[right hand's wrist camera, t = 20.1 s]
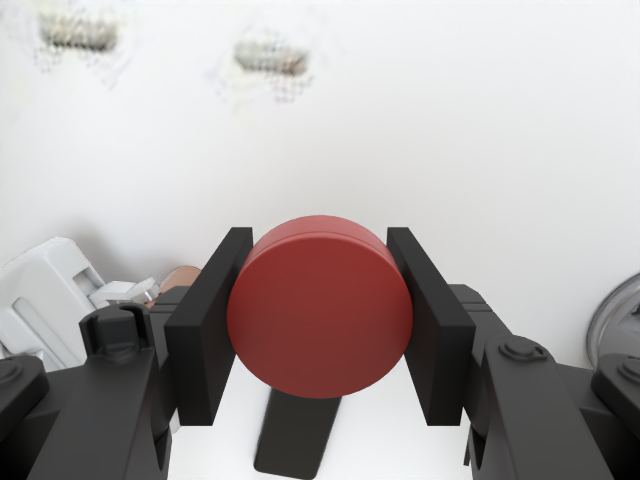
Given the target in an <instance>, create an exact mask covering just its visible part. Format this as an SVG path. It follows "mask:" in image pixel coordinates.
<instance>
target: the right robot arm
mask: <svg viewBox="0 0 640 480" xmlns="http://www.w3.org/2000/svg"><path fill="white" fill-rule="evenodd" d="M386 247H387V248H388V250H389V251H390V253H391V255H392V257H393V258H394V260H395V263H396V265H397V267H398V269H399V271H400V273H401V275H402V277H403V280H404V282H405V284H406V286H407V289H408V291H409V293H410V296H411V301H412V305H413V325H412V333H411V338H410V340H409V343H408V346H407V348H406V350H405V352H404V356H405V359H406V362H407V365H408V368H409V371H410V374H411V378H412V381H413V384H414V387H415V390H416V393H417V396H418V399H419V402H420V405H421V408H422V411H423V414H424V417H425V420H426V423H427V426H460V422H461V416H462V410H463V407H464V409H465V411H466V413H467V415H468V418H469V420H470V422H471V424H470V430H469V435H468V441H467V446H466V452H465V458H464V465H466V466H469V462H470V460H471V467H472V475H473V480H640V274H639V275H638V276H636V277H634V278H632V279H631V280H629V281H627V282H626V283H624V284H623V285H622V286H621V287H619V288H618V289H617V290H616V291H615V292H613V293H612V294H611V295H610V296H609V297H608V298H607V299H606V301H605V302H604V303H603V304H602V306H601V307H600V308H599V310H598V311H597V313H596V315H595V317H594V319H593V321H592V323H591V326H590V329H589V332H588V338H587V350H588V355H589V359H590V361H591V363H592V365H593V367H594V368H595V369H594V371H592V370H587V369H582V368H577V367H572V366H567V365H562V364H558V363H556V362H555V360H554V358H553V356H552V355H551V354H550V353H549V352H548V350H547V349H545V348H544V347H543V346H541V345H540V344H538V343H537V342H534V341H532V340H529V339H527V338H525V337H521V336H516V335H513V334H512V333H511V332H510V331H509V329H508V328H507V327H506V326H505V325H504V323H503V322H502V321H501V320H500V318H499V317H498V316H497V315H496V314H495V312H493V310H492V309H491V308H490V306H489V305H488V304H486V302H485V300H484V299H483V298H482V297H481V295H480V294H479V293H478V292H476V291H475V290H473V289H471V288H470V287H468V286H466V285H465V284H447V283H446V281H445V280H444V278H443V277H442V276H441V274H440V273H439V271H438V270H437V268H436V267H435V266H434V264H433V263H432V261H431V260H430V258H429V257H428V255H427V254H426V253H425V251H424V250H423V248H422V247H421V245H420V244H419V243H418V241H417V240H416V238H415V237H414V235H413V234H412V232H411V231H410V230H409V228H408V227H388V229H387V245H386ZM252 248H253V233H252V227H232V228H231V229H230V231H229V232H228V234H227V235H226V236H225V238H224V239H223V241H222V242H221V244H220V245H219V246H218V248H217V249H216V251H215V252H214V254H213V255H212V257H211V258H210V259H209V261H208V262H207V264H206V265H205V267H204V268H203V269H202V271H201V272H200V274H199V275H198V277H197V278H196V280H195V281H194V282H193V284H192V285H191V286H174V287H172V288H171V289H169V290H167V291H166V292H164V293H162V294H161V296H160V297H159V298H158V299H157V300H156V302H155V303H154V305H152V306H151V308H150V309H149V308H147V307H146V306H145V305H143V304H139V303H134V302H133V303H118V304H113V305H108V306H106V307H103V308H100V309H97V310H95V311H93V312H92V313H90V314H88V315H86V316H85V317H84V318H83V319H82V320H81V321H80V322H79V323H78V324H79V328H80V332H81V335H82V339H83V343H84V347H85V351H86V355H87V359H86V361H85V363H84V365H81V366H77V367H72V368H67V369H62V370H57V371H52V372H46V371H45V367H44V364H43V361H42V360H41V359H40V358H38V357H37V356H31V355H20V356H11V357H6V358H5V359H3V358H2V359H0V480H167V476H168V468H169V460H170V453H171V445H172V436H171V430H170V424H169V423H170V421H171V419H172V417H173V415H174V413H175V410H176V408H177V411H178V417H179V423H180V426H212V425H213V422H214V419H215V416H216V413H217V410H218V407H219V404H220V401H221V398H222V395H223V392H224V389H225V386H226V383H227V380H228V377H229V374H230V371H231V368H232V365H233V362H234V359H235V356H236V352H235V350H234V348H233V346H232V344H231V341H230V338H229V334H228V328H227V316H226V311H227V304H228V299H229V296H230V293H231V290H232V288H233V286H234V284H235V281H236V279H237V277H238V275H239V273H240V271H241V269H242V266H243V264H244V262H245V260H246V258H247V256H248V254H249V252H250V251H251V250H252Z"/></svg>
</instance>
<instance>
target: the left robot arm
mask: <svg viewBox="0 0 640 480" xmlns="http://www.w3.org/2000/svg"><path fill="white" fill-rule="evenodd" d="M161 292H162V290H161V289H160V287H159V286H158V284H157V283H156V282H155V280H154V279H153V277H151V278H149V279H146V280H144V281H142V282H140V283H138V284H136V283H132V282H123V281H112V282H110V283H108V284H105V282H104V281H103V280H102V278H101V277H100V276H99V274H98V273H97V272H96V270H95V269H94V268H93V266H92V265H91V264H90V262H89V261H88V260H87V258H86V257H85V256H84V254H83V253H82V252H81V250H80V249H79V248H78V246H77V245H76V243H75V242H74V241H73V240H71V239H68V238H63V237H53V238H51V239H49V240H47V241H45V242H43V243H41V244H39V245H37V246H35V247H33V248H32V249H30V250H28V251H26V252H24V253H22V254H21V255H19V256H17V257H16V258H14V259H13V260H11V261H10V262H8V263H7V264H5V265H4V266H2V267H1V268H0V359H2V358H3V359H5V358H6V357H11V356H20V355H31V356H37V357H38V358H40V359H41V360H42V361H43V364H44V367H45V371H46V372H52V371H57V370H62V369H67V368H72V367H77V366H81V365H84V363H85V361H86V359H87V355H86V351H85V347H84V343H83V339H82V335H81V332H80V328H79V324H78V323H79V322H80V321H81V320H82V319H83V318H84V317H85V316H86V315H88V314H90V313H92V312H93V311H95V310H97V309H100V308H103V307H106V306H108V305H113V304H118V303H120V302H119V301H118V300H132V302H134V303H139V304H143V305H144V304H145V303H146V302H147V303H149V302H151V301H153V300H155V299H156V298H157V297H158V296H159V294H160V293H161ZM169 424H170V430H171V435H172V434H174V433H176V432H177V431H178V430H179V429H180V427H181V426H180V423H179V417H178V411H177V408H176V410H175V413H174V415H173V417H172V419H171V421H170V423H169Z"/></svg>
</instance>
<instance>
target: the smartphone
mask: <svg viewBox="0 0 640 480" xmlns="http://www.w3.org/2000/svg"><path fill="white" fill-rule="evenodd" d="M341 399H342V396H340V397H333V398H305V397H300V396H295V395H291V394H288V393H285V392H282V391H280V390H277V389H275V388H273V387H272V389H271V393H270V397H269V401H268V405H267V409H266V413H265V417H264V421H263V425H262V429H261V434H260V436H259V441H258V445H257V450H256V454H255V458H254V463H253V466H254V468H255V470H256V471H258V472H262V473H268V474H273V475H279V476H285V477H290V478H296V479H302V480H312V479H314V478H315V477H316V475H317V472H318V469H319V467H320V463H321V461H322V458H323V454H324V452H325V449H326V445H327V442H328V439H329V436H330V432H331V429H332V426H333V423H334V420H335V417H336V414H337V411H338V408H339V405H340V402H341Z"/></svg>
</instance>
